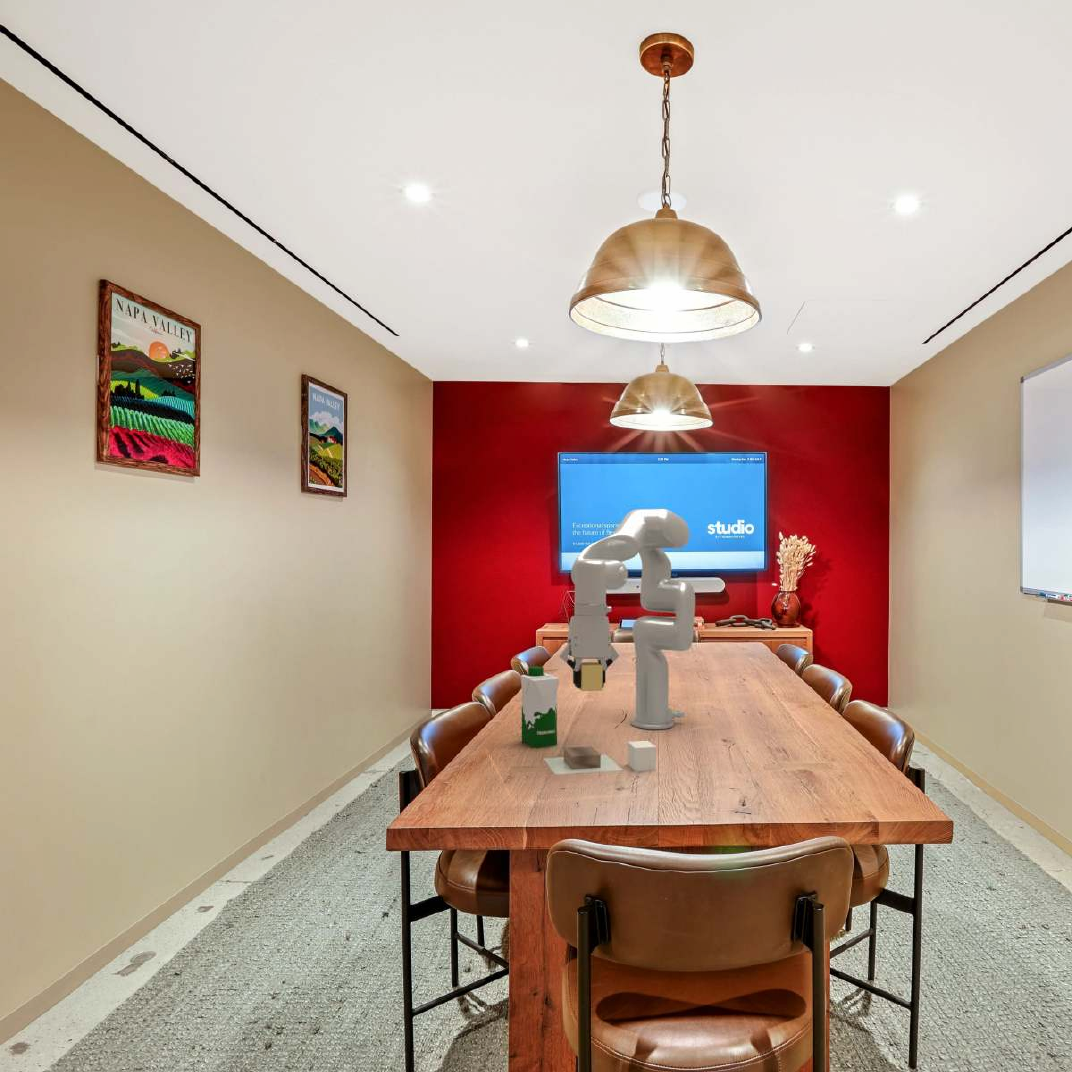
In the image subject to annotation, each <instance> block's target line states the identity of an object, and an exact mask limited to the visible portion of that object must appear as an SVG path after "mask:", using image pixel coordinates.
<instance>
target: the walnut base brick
mask: <svg viewBox="0 0 1072 1072" xmlns="http://www.w3.org/2000/svg"><path fill="white" fill-rule="evenodd" d="M601 755H602V754H601V753H599V752H598V750H597V749H596V748H594V747H593V746H592V745H591V746H587V745H586V746H573V747H563V757H564V761H565V762H566V764H567V765H568V766H569V767H570V768H571V770H574V769H589V768H601Z"/></svg>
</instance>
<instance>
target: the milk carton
mask: <svg viewBox="0 0 1072 1072" xmlns="http://www.w3.org/2000/svg"><path fill="white" fill-rule="evenodd" d="M527 670H528V671H527V673H528V674H521V675H520V684H521V686H520V687H521V744H524V745H527V746H528V747H531V748H532V749H539V748H545V747H552V746H554V747H555V746H558V726H557V724H558V715H557V714H558V688H559V683H560V677H557V676H555V675H553V674H550V673H545V671H544V666H541V665H540V666H539V665H532V666H528V668H527Z"/></svg>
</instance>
